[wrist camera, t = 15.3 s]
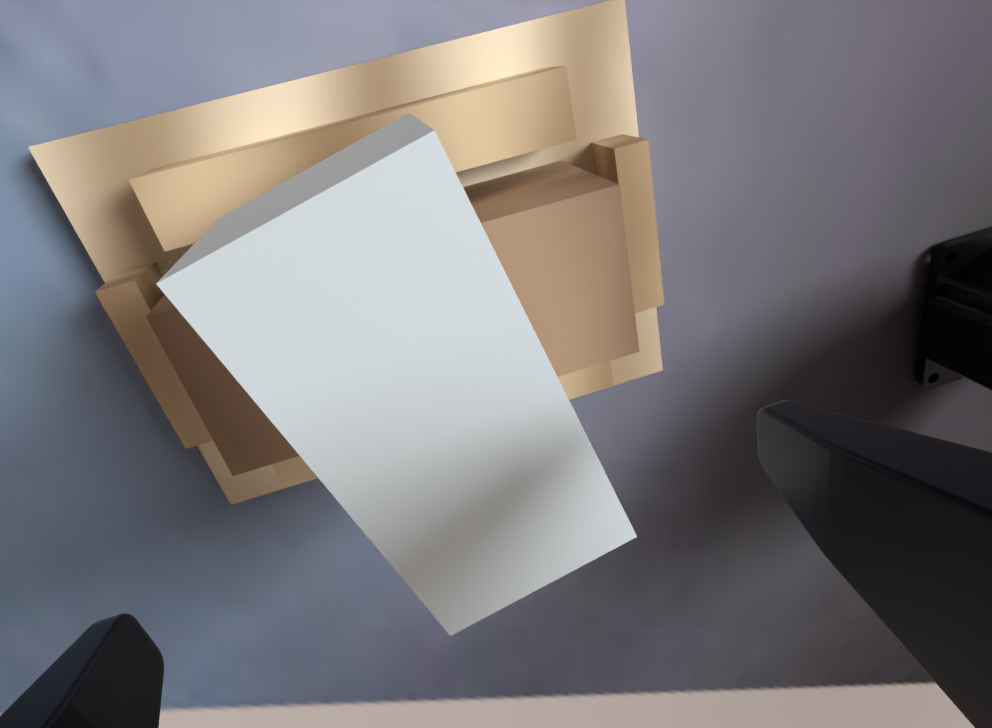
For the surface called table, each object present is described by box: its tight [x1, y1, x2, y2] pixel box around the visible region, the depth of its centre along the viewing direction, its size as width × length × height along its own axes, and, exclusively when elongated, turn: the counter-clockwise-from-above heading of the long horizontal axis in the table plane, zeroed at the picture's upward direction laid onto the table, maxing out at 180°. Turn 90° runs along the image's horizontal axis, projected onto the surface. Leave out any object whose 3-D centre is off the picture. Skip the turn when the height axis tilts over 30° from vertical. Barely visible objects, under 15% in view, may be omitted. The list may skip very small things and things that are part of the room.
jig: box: [28, 0, 664, 505], centre depth 18 cm, size 16×12×3 cm
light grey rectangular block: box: [156, 113, 637, 636], centre depth 13 cm, size 9×4×4 cm, turn 26°
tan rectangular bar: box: [146, 161, 640, 476], centre depth 16 cm, size 11×4×4 cm, turn 103°
